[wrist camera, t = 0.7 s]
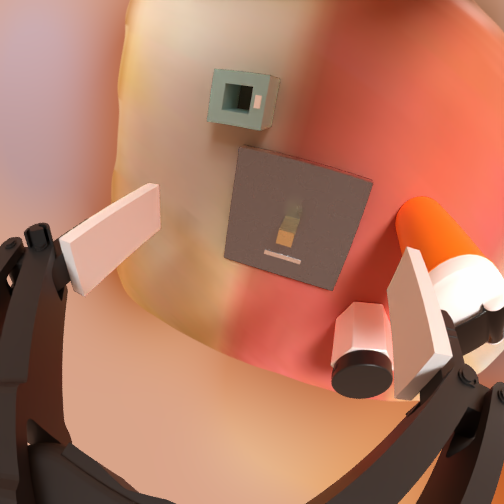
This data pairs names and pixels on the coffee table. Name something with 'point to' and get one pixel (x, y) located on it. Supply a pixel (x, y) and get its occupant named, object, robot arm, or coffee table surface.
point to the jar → (362, 351)
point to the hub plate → (293, 215)
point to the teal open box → (227, 99)
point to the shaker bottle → (455, 272)
